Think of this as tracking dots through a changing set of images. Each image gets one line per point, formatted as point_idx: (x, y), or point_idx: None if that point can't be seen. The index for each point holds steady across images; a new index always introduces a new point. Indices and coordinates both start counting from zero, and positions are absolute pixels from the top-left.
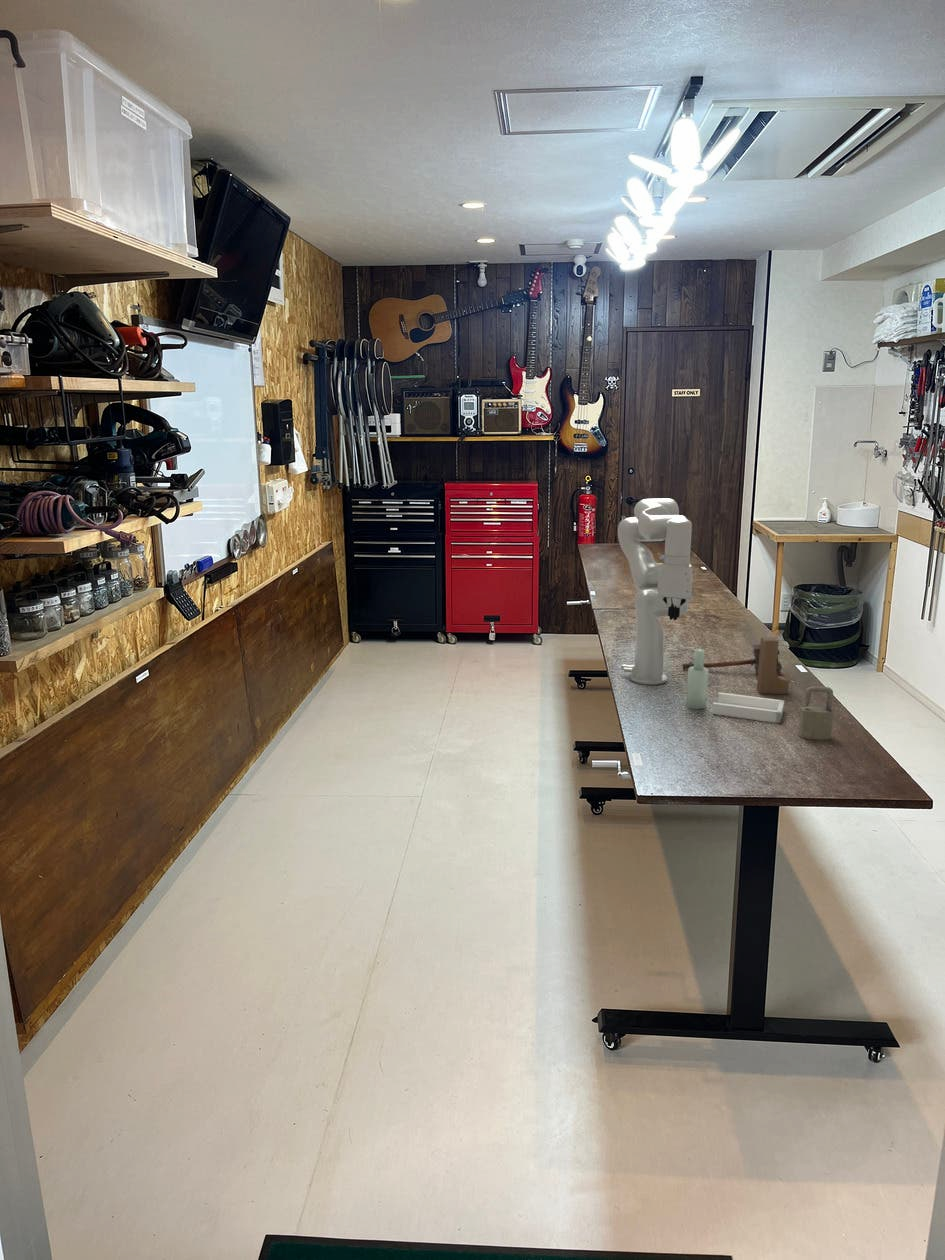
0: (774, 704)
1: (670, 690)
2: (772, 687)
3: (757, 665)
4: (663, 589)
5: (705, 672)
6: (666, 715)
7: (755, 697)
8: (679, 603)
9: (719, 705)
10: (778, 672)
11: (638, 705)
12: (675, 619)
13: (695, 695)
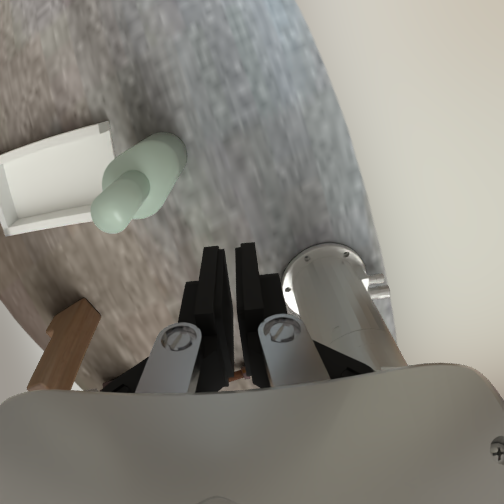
0: (19, 222)
1: (255, 234)
2: (66, 313)
3: None
4: (450, 474)
5: (105, 171)
6: (207, 49)
7: (45, 224)
8: (156, 360)
9: (85, 127)
10: (105, 385)
11: (298, 87)
12: (204, 248)
13: (148, 138)
